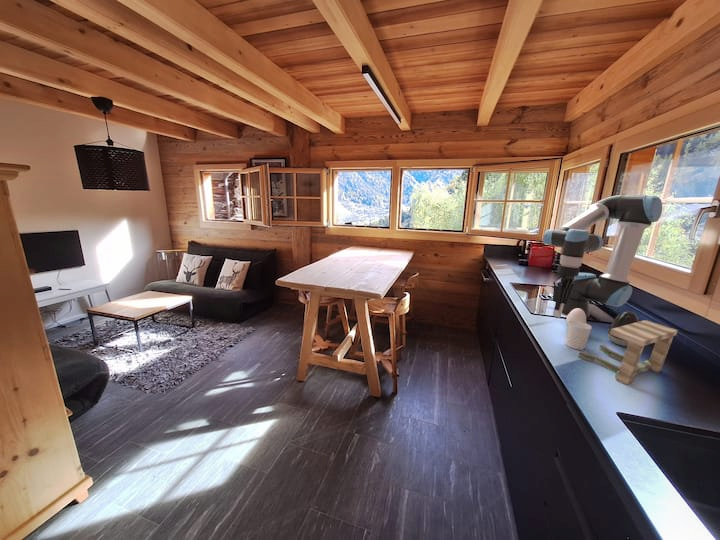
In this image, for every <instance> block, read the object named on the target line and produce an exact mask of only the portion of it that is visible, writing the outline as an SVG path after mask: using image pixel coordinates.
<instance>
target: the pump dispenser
mask: <svg viewBox="0 0 720 540" xmlns="http://www.w3.org/2000/svg"><path fill="white" fill-rule="evenodd" d="M636 322H640V321H639V317H638V316H637V314H636V313H634V312H632V311H628V310H627V311H625V310H624V311H622V312H620V313H619V314H618V315H617V316H616V317H615V318H614V320H613V321H612V322H611V324H610V326H609V328H608V330H607V336H608V339H609V340H610V341H611V342H612V343H613V344H616V345H617V344H618V345H619V346H620V345H621V346H620V347H627V345H628V342H629V341H626V340H623V339H621V338H618V337H616V336H613V335H610V331H611V329H613V328H617V327H621V326H624V325H628V324H632V323H636Z"/></svg>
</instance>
